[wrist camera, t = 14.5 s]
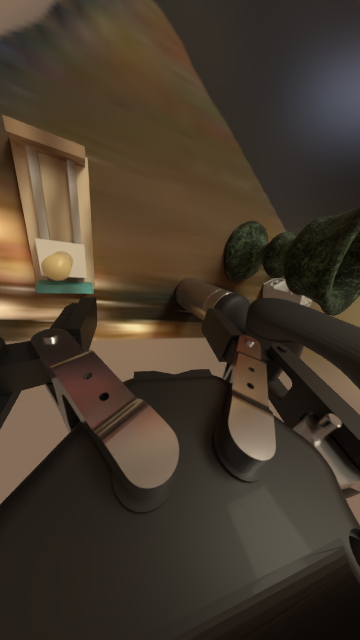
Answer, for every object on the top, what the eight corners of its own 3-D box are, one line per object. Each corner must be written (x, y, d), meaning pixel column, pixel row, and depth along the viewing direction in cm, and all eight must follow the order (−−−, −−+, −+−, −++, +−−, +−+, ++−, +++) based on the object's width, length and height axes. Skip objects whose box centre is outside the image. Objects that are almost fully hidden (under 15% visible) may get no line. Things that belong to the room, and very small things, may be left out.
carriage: (84, 244, 32) (86, 247, 22) (86, 276, 34) (89, 292, 24) (37, 238, 29) (13, 237, 18) (43, 273, 31) (24, 291, 20)
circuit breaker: (261, 313, 75) (295, 326, 63) (263, 283, 68) (302, 293, 56) (272, 306, 78) (307, 318, 66) (275, 277, 70) (315, 285, 58)
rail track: (87, 161, 30) (88, 148, 26) (94, 287, 38) (96, 293, 34) (11, 134, 25) (-3, 112, 21) (39, 286, 33) (32, 293, 29)
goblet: (206, 257, 50) (321, 274, 26) (252, 195, 49) (412, 156, 25) (237, 297, 63) (331, 332, 40) (273, 249, 63) (391, 255, 39)
